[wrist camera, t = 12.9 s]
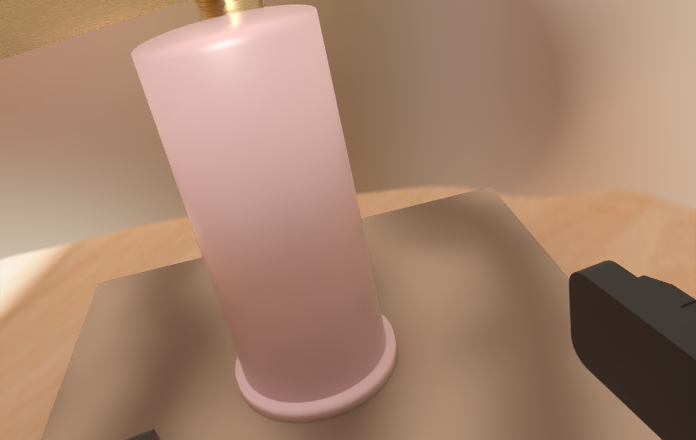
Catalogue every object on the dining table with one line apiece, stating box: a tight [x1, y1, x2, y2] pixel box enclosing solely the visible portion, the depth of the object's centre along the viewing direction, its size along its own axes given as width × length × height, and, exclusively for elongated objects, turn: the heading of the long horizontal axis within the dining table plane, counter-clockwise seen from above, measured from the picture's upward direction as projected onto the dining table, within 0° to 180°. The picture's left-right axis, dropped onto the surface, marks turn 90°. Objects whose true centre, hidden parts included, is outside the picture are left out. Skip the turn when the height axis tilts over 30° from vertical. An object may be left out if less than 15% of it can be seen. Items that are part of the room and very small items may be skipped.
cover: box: [131, 5, 398, 423], centre depth 21 cm, size 6×6×12 cm
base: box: [41, 187, 662, 440], centre depth 24 cm, size 20×20×3 cm
